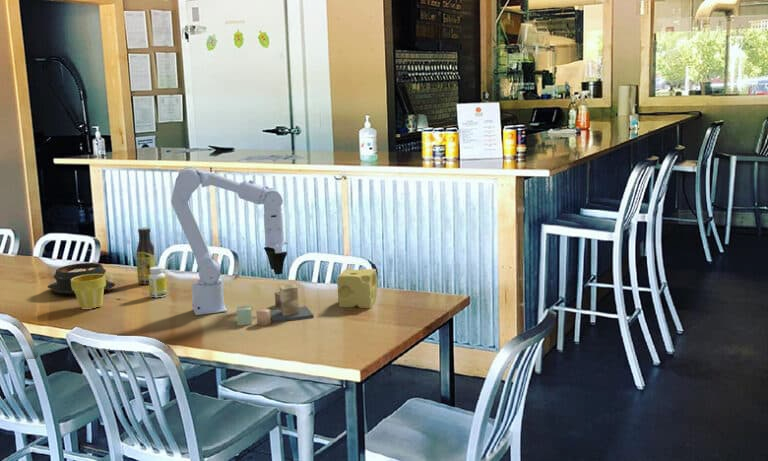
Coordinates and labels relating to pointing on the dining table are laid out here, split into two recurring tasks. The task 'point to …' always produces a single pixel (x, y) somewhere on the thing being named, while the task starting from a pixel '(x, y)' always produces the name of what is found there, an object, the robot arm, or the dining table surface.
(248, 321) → the sage block
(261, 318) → the brown block
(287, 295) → the oak block
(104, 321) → the dining table surface
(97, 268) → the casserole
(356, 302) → the cheese
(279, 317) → the bar mat
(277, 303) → the walnut block
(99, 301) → the plant pot
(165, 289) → the supplement bottle
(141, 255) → the sauce bottle
